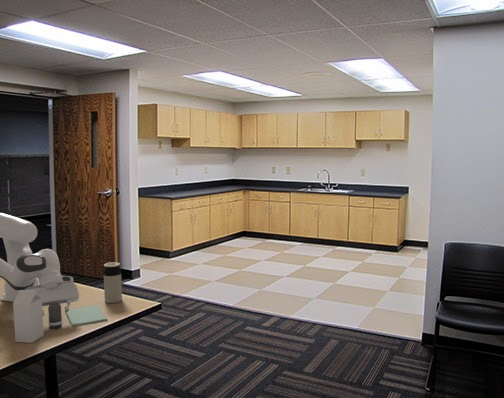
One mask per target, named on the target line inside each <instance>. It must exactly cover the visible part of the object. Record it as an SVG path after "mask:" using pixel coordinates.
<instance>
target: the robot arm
mask: <svg viewBox="0 0 504 398" xmlns="http://www.w3.org/2000/svg"><path fill="white" fill-rule="evenodd" d="M37 236H38V228H37V227H36V225H35V224H34V223H32V222H31V221H29V220H26V219H22V218H19V217H16V216H13V215H11V214H6V213H4V212H0V238H1V239H2V240H3V244H4V248H5V253H6V261H7V262H6V261H5V260H4V259H2V258H1V257H0V278H1V279H2V280H4V281H5V282H4V283H3V288H4V293H3V294H2V296H1V297H0V301H3V302H5V301H7V302H13V303H14V301H15V299H16V297H17V295H18V293H19V290H24V291H36V294H37V295H38V296H39V297H40V298H42V307H47V306H48V307H49V305H50V304H51V303H53V302H57V303H59V304H60V305H61V304H66V306H64V312H65V313H66V312H69V310H70V306H71V303H74V302H77V301H78V300H79V299H80V294H79V290H78V286H77V285H76V283H75V282H74V278H73V276H68V275H67V276H66V275H62V273H61V265H60V260H59V256H58V254H57V252H56V251H55V250H53V249H51V248H44V249H41V250H39V251H38V252H36V253H33V251H32V249H31V247H30V244H29V243H32V242H33V241H35V240H36V238H37ZM42 312H43V316H45V310H44V309H42Z"/></svg>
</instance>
